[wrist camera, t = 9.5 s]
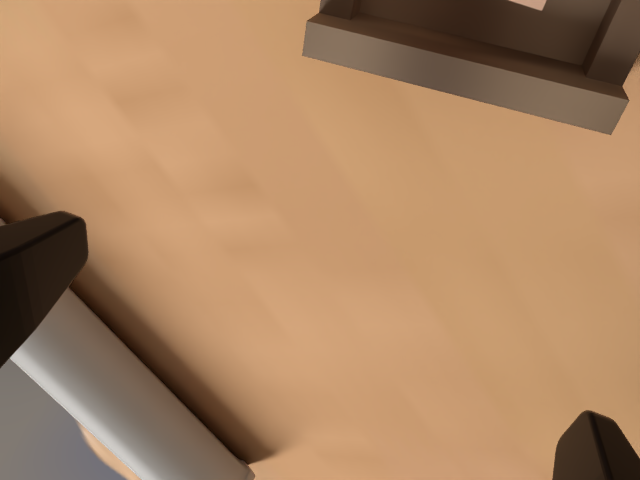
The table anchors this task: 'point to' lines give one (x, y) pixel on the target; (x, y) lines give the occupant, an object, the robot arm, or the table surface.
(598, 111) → the wooden tray
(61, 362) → the tube
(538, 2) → the beige long block
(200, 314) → the table surface
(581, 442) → the robot arm
